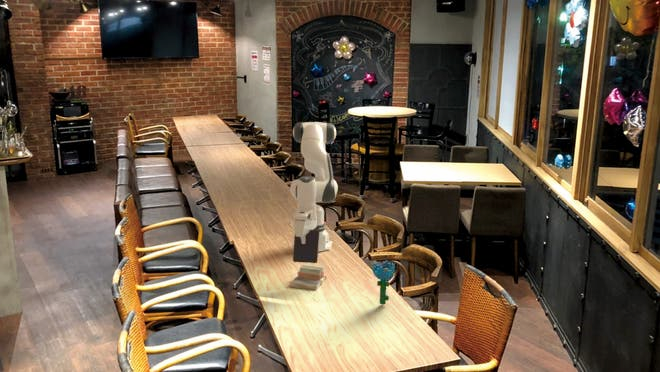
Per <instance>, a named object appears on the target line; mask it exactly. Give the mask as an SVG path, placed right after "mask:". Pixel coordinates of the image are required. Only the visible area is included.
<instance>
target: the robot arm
mask: <svg viewBox="0 0 660 372" xmlns="http://www.w3.org/2000/svg"><path fill="white" fill-rule="evenodd" d="M336 129H337V128H336V127H335V125H334V124H333V123H331V122H321V121H320V122H319V121H314V122H313V121H308V122H306V121H305V122H303V121H301V122H296V123H295V124H294V127H293V129H292V136H293V139H294V141H295V142H296V143H299V144H300V153H301V156H302V157H303V158H304V162H303V163H304V168H305V170H307V171H308V173H311V174H314V175H315V177H314V176H309V175H303V176H300V177H299V178H297V179H294V180H293V181H292V182H291V184H290V186H289V187H290V188H289V189H290V190H289V191H290V194H291V195H292V197H293V198H295V200H297V203H296V210H295V213H294V214H293V220H294V225H293V226H294V236H295V235H296V236H297V237H301V243H302V244H305V243H306V239H305V237H306V234H307V233H309V230H319V243H318V253H319V252H324V251H330V250H331V248H332V246H333V241H332V240H330V239H329V238H330V236H329V235H330V233H328V231H327V230H326V224H327V222H326V221H325V210H324V208H323V207H322V206H321V205H319V204H317V202H318V203H327V204H330V203H333V201H334V200H335V199H336V197H337V193H338V190H339V189H338V188H339V186H338V183H337V181H336V180H335V179H334V173H333V167H332V161H331V160H332V159H331V156H330V154H329V153H328V152H327V151H326V145H329V144H332V143H333V142H334V141H335V139H336V138H337V137H336V136H337V130H336Z"/></svg>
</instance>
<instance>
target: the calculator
mask: <svg viewBox="0 0 660 372" xmlns="http://www.w3.org/2000/svg"><path fill="white" fill-rule="evenodd" d="M305 239H306V243H305V244H302V243H301V237H297V236H296V235H295V234H294V239H293V240H294V241H293V252H292V253H293V254H292V262H294V263H304V264H308V263H309V264H310V263H311V264H317V263H318V256H319V252H318V243H319V230H309V233H307V234H306V237H305Z"/></svg>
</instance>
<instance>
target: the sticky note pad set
mask: <svg viewBox="0 0 660 372" xmlns="http://www.w3.org/2000/svg"><path fill="white" fill-rule="evenodd" d="M324 269H325V268H324V266H323V265H316V264H315V265H314V264H308V263H303V264H302V265H301V266H299V271H298V272H297V276H296V277H294V279H292V280H291V281H290V282H289V287H290V288H296V289H303V290H310V291H311V290H312V291H317V290H318V289H319V288H320V287H321V286H322V285H323V284H324V283H325V282H326V280H327V279H328V277H327V275H325V271H324Z"/></svg>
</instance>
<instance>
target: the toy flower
mask: <svg viewBox="0 0 660 372" xmlns="http://www.w3.org/2000/svg"><path fill="white" fill-rule="evenodd" d="M395 269H396V266H395V263H392V262H389V261H388V260H385V261H384V262H381V264H377V263H376V262H374V263H373V266H372V273H373V276H375V278H377V280H378V281H376V282H377V284H376V285H377V287H379V304H380V305H381V306H383V305H386V301H389V299H390V297H389V295H387V288H388V287H390V282H389V281H388V280H390V279H391V278H392V276H393V275H394V273H395V271H396V270H395Z"/></svg>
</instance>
